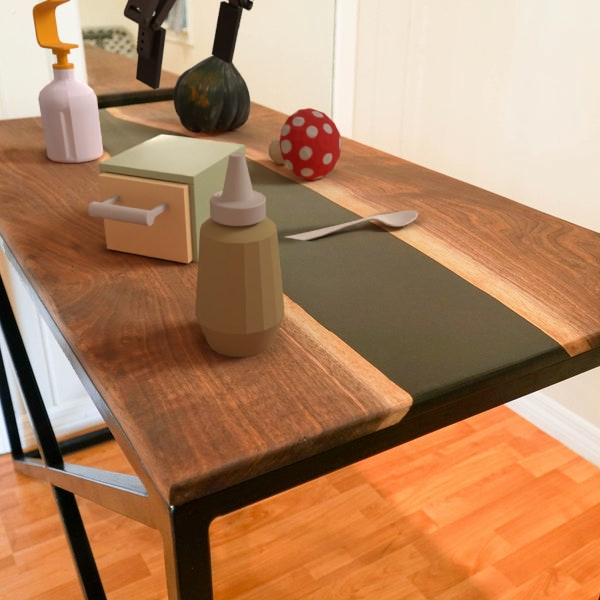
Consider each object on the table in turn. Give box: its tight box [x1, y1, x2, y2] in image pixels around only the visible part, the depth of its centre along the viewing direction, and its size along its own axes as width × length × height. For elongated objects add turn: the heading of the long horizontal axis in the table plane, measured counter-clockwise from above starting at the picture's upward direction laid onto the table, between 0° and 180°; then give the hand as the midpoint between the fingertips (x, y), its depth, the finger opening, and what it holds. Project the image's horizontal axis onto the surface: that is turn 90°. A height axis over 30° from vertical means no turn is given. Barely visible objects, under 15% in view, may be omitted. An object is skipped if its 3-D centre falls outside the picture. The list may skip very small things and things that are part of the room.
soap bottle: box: [32, 0, 104, 164], centre depth 106 cm, size 9×9×25 cm
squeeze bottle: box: [194, 152, 285, 358], centre depth 57 cm, size 8×8×18 cm
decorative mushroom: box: [268, 107, 342, 181], centre depth 105 cm, size 11×11×15 cm
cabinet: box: [98, 133, 247, 263], centre depth 80 cm, size 14×12×11 cm
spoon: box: [285, 209, 419, 242], centre depth 85 cm, size 4×21×2 cm, turn 114°
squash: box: [172, 55, 251, 134], centre depth 126 cm, size 14×15×15 cm
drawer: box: [88, 172, 193, 264], centre depth 76 cm, size 17×11×9 cm, turn 161°
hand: (186, 70), depth 77 cm, fingers open, 13 cm apart
